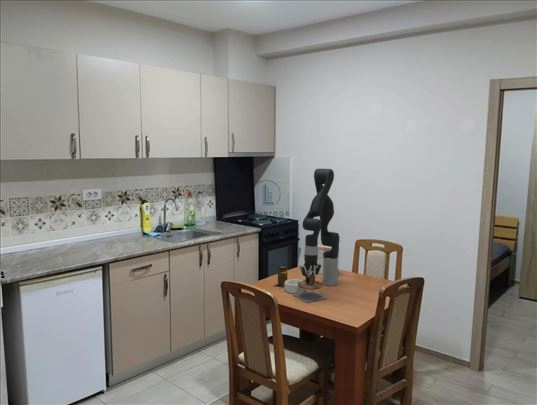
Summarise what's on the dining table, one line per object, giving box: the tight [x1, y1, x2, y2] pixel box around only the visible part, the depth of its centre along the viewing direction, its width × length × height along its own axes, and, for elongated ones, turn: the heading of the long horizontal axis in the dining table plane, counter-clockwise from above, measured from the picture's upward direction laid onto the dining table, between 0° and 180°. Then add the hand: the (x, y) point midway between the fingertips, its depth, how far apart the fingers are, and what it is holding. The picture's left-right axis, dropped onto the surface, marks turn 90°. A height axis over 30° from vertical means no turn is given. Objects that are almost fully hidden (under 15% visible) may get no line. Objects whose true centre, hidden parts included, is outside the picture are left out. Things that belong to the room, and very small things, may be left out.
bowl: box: [283, 278, 306, 295], centre depth 255 cm, size 12×12×5 cm
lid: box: [298, 273, 323, 291], centre depth 242 cm, size 14×14×6 cm
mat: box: [292, 290, 328, 304], centre depth 244 cm, size 14×14×1 cm
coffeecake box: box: [315, 243, 340, 275], centre depth 290 cm, size 15×7×20 cm, turn 52°
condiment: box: [272, 265, 288, 289], centre depth 262 cm, size 7×8×12 cm
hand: (310, 282), depth 242 cm, fingers closed on lid, 3 cm apart
